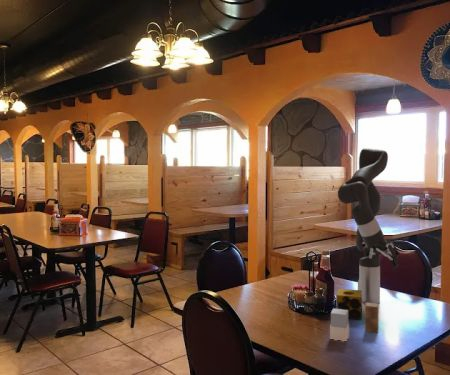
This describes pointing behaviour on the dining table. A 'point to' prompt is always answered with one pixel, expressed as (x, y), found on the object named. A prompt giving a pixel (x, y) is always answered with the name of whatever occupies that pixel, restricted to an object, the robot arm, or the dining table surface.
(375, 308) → the pillar
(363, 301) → the robot arm
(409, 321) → the dining table surface
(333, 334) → the tower base
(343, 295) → the yellow patterned cube
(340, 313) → the block
